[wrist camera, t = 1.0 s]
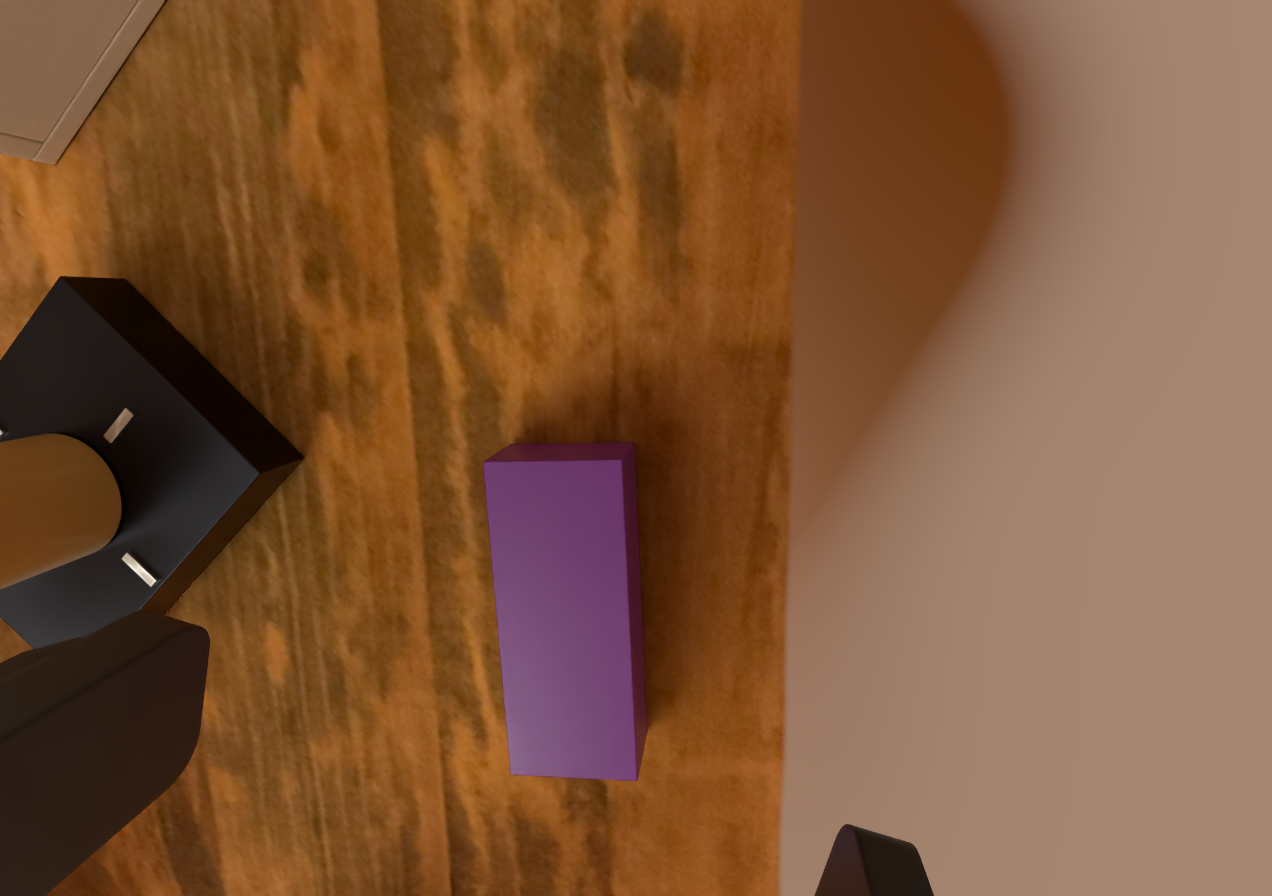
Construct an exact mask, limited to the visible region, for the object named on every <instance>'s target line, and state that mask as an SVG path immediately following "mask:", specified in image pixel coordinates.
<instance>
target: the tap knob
mask: <svg viewBox="0 0 1272 896" xmlns="http://www.w3.org/2000/svg"><path fill="white" fill-rule="evenodd" d="M121 512H122V503H121V496H120V491H119V488H118V484H117V482H116V479H115V477H114V475H113V473H112V472H111V470H110V468H109V467H108V465H107V464H106V463H105V461H104V460H103V459H102V458H101V457H100V456H99V455H98V453H96V452H95V451H94V450H93V449H92V448H90V447H89V446H88V445H86V444H85V443H83V442H81V441H79V440H77V439H75V438H72V437H70V436H66V435H62V434H54V433H51V434H41V435H36V436H31V437H26V438H20V439H15V440H10V441H4V442H0V589H3V588H5V587H8V586H10V585H13V584H16V583H18V582H21V581H23V580H26V579H28V578H31V577H33V576H36V575H39V574H41V573H44V572H46V571H49V570H51V569H54V568H56V567H59V566H62V565H64V564H67V563H69V562H72V561H74V560H77V559H79V558H82V557H85V556H87V555H90V554H92V553H95V552H97V551H99V550H100V549H102V548H103V547H104V546H106V545H107V544H108V543H109V542H110V540H111V539H112V538H113V536H114V535H115V533H116V531H117V529H118V526H119V523H120V519H121Z"/></svg>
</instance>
